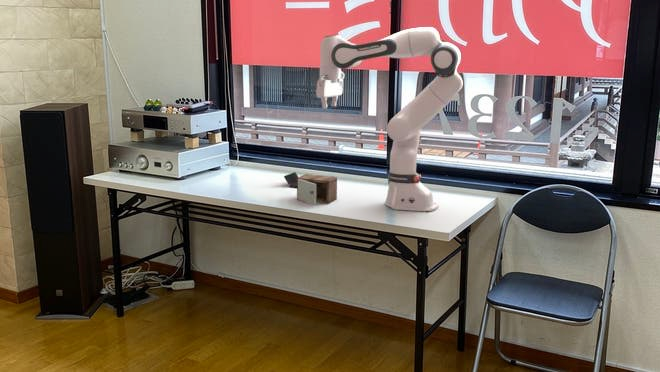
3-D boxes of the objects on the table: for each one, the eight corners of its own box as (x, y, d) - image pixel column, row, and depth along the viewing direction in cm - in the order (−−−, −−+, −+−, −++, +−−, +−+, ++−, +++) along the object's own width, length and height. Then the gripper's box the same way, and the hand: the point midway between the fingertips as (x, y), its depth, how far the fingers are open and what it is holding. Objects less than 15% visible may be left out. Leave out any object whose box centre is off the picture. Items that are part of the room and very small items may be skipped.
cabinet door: (316, 204, 267) (316, 184, 265) (312, 205, 266) (312, 184, 264) (299, 198, 276) (299, 179, 274) (295, 199, 275) (296, 179, 273)
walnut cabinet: (336, 199, 280) (337, 177, 277) (328, 203, 271) (329, 181, 269) (305, 195, 285) (305, 174, 283) (297, 200, 277) (297, 177, 275)
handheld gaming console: (304, 186, 298) (293, 168, 299) (293, 194, 300) (281, 176, 301) (312, 184, 309) (301, 167, 310) (301, 192, 311) (290, 175, 312)
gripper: (326, 75, 257) (326, 110, 260) (346, 74, 276) (345, 106, 279) (312, 75, 260) (312, 109, 263) (332, 73, 278) (331, 105, 281)
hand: (329, 107), depth 271 cm, fingers open, 8 cm apart
